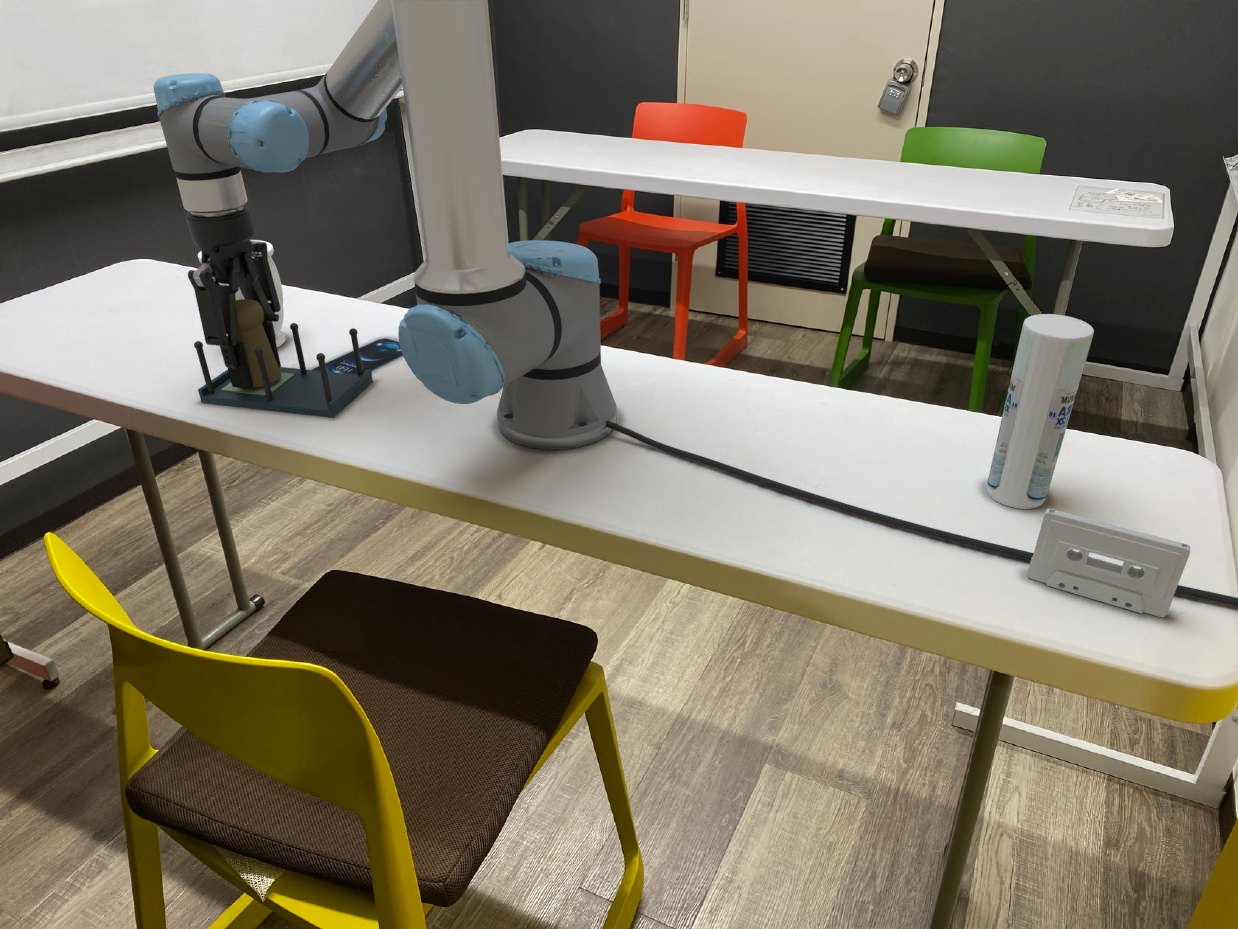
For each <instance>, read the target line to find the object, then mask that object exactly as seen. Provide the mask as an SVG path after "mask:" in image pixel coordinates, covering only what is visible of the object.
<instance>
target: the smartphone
mask: <svg viewBox="0 0 1238 929" xmlns="http://www.w3.org/2000/svg"><path fill="white" fill-rule="evenodd" d="M359 350H360V356H361V362H362V367H363V373H364V372H365V371H366V370H367V369H369V370H371V373H372V372H374V371H375V370H377V369H379V368H381V367H383V366H385V365H387V364H389V363H391V362H393V361H396V360H398V359H400V358H402V357H404V356H403V354H402V351H401V348H400V344H399V340H398V341H397V340H393V339H390V338H379V339H376V340H374V341H371V342H370V343H367V344H366V345H363V346H361V347H359ZM325 364H326V370H327V372H336V373H345V374H355V375H358V373H357V368H356V362H355V356H354V351H353V350H352V351H350V352H348V353H345V354H343V355H341V356H339V357H337V358H334V359H332V360H329V361H327V362H325ZM311 370H316V371H320V368H319V365H318V366H316V367H314V368H312V369H311Z"/></svg>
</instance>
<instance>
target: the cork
mask: <svg viewBox="0 0 1238 929" xmlns="http://www.w3.org/2000/svg"><path fill="white" fill-rule="evenodd" d="M263 320H264V312H263V308H262V307H261V305H260V304H259V303H258V302H257V301H254V300H251V299H241V300H236V322H237V342H243V346H244V351H245V355H246V359H247V363H248V367H249V371H250V375H251V379H252V383H253V387H259V386H263V382H262V377H261V373H260V369H259V365H258V361H257V356H256V354H255V353H254V349H255V348H256V347H261V348H262V349H263V358H264V362H265V366H266V370H267V375H268V379H269V383H273V382H275V381H276V380H278V379H279V378H280V377H281V372H280V369H279V367H278V364H277V361H276V359H275V356H274V354H273V351H272V349H271V346H270V343H269V341H268V338H267V336H266V333H265V331H264V328H263V325H262V322H263Z"/></svg>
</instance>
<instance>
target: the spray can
mask: <svg viewBox="0 0 1238 929" xmlns="http://www.w3.org/2000/svg"><path fill="white" fill-rule="evenodd" d="M1094 333H1095V330H1094V328H1093V327H1092V325H1090V324H1089V323H1087V322H1086V321H1083V320H1082V319H1080V318H1079V319H1078V318H1076V317H1073V316H1068V315H1062V314H1055V313H1039V314H1033V315H1030V316H1028V317H1026V318H1025V319H1024V321H1023V323H1022V328H1021V332H1020V337H1019V341H1018V344H1017V350H1016V354H1015V358H1014V362H1013V367H1012V372H1011V376H1010V381H1009V385H1008V389H1007V394H1006V398H1005V403H1004V407H1003V411H1002V416H1001V419H1000V420H1001V421H1000V425H999V429H998V434H997V438H996V443H995V446H994V451H993V455H992V460H991V464H990V468H989V473H988V477H987V482H986V492H987V495H988V496H989V497H990V498H991V499H992V500H994V501H995V502H997V503H999V504H1001V505H1003V506H1006V507H1010V508H1015V509H1019V510H1020V509H1022V510H1030V509H1032V510H1033V509H1035V508H1039V507H1041V506H1042V505H1043V504H1044V503H1045V501H1046V500H1047V497H1048V495H1049V490H1050V487H1051V483H1052V481H1053V480H1052V479H1053V476H1054V473H1055V469H1056V465H1057V462H1058V459H1059V456H1060V452H1061V448H1062V446H1063V442H1064V438H1065V435H1066V432H1067V428H1068V424H1069V420H1070V417H1071V413H1072V410H1073V407H1074V403H1075V400H1076V397H1077V393H1078V390H1079V386H1080V382H1081V379H1082V376H1083V375H1082V374H1083V372H1084V368H1085V365H1086V362H1087V358H1088V355H1089V351H1090V348H1091V345H1092V341H1093V338H1094Z"/></svg>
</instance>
